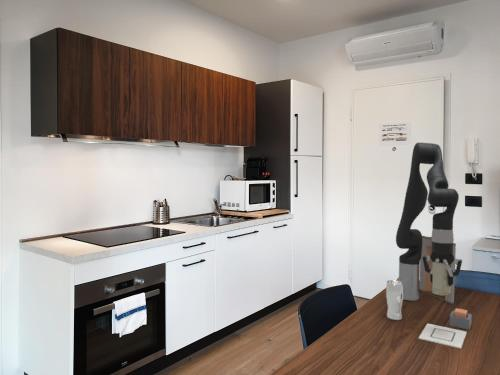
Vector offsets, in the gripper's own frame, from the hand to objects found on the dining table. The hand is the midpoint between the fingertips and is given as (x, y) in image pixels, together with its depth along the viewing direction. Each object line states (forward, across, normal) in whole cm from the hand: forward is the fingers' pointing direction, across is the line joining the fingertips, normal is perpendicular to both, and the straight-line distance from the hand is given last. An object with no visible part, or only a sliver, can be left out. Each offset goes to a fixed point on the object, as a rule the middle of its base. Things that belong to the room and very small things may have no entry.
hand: (441, 284), depth 153 cm
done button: (+15, +5, +11) cm, 20 cm away
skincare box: (+4, 0, 0) cm, 4 cm away
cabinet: (+18, -6, +46) cm, 50 cm away
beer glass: (+18, -19, +4) cm, 26 cm away
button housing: (+18, +5, +11) cm, 22 cm away
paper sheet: (+18, +1, -4) cm, 19 cm away
